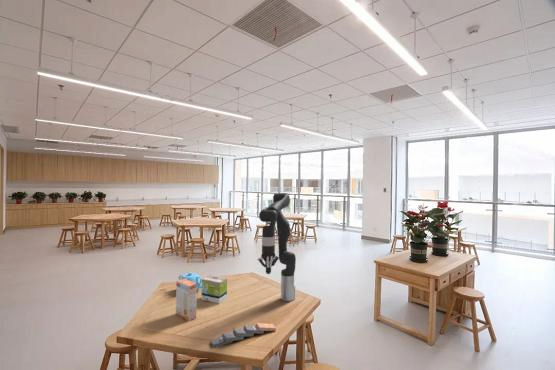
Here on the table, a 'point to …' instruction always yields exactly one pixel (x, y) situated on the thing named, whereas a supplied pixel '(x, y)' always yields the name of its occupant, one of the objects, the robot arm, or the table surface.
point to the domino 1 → (219, 341)
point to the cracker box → (186, 299)
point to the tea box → (214, 289)
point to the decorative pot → (192, 278)
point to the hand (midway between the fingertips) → (268, 273)
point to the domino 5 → (265, 327)
